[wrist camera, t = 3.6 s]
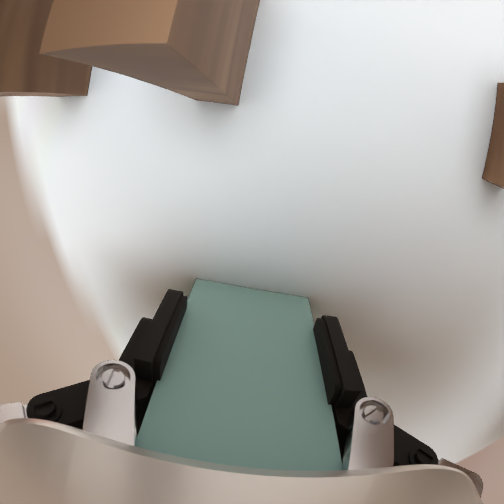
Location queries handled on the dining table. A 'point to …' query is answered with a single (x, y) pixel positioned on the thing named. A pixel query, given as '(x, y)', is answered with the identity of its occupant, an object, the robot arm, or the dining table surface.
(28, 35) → the domino
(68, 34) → the domino
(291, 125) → the dining table surface
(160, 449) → the domino
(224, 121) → the dining table surface
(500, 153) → the domino
